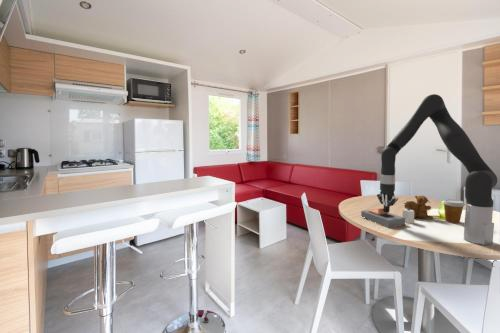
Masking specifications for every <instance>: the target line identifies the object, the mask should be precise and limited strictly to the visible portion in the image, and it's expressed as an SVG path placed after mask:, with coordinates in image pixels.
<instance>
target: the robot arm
mask: <svg viewBox="0 0 500 333" xmlns="http://www.w3.org/2000/svg"><path fill="white" fill-rule="evenodd" d="M428 118H429V119H430V120H431V121H432V123H433V124H434V126H435V127H436V129H437V132H438V134H439V136H440V138H441V140H442V142H443V144H444V146H445V148H447V150H448V151H449V153H451V154H452V155H453V156H454V157H455V158H456V159H457V160H458V161H459V162H460V163H462V165H463V166H464V168H465V169H466V171H467V172H468V174H467V176H466V179H465V183H464V184H465V186H464V188H465V189H464V197H465V213H464V227H463V240H465V241H467V242H469V243H473V244H478V245H482V246H487V245H490V244H493V242H494V241H493V240H494V230H495V223H494V222H493V213H494V199H493V196H492V193H493V188H495V187H496V186H497V183H498V177H497V176H498V175H496V174H495V172H494V171H493V170H492V169H491V168H490V167H489V165H488V164H487V163H486V162H485V160H484V159H483V158H482V156H481V155H480V153H479V151H478V150H477V148H476V147H475V145H474V144H473V142H472V141H471V139H470V136H468V134H467V133H466V131H464V129H463V127H461V126H460V125H459V124H458V123H457V122H456V120H454V119H453V117H452V116H451V115H450V113H449V110H448V109H447V107H446V104H445V101H444V99H443V97H442V96H441V95H439V94H429V95H428V96H425V97H424V98H423V100H422V101H421V103H420V104H419V105H418V107H417V109H416V111H415V112H414V114H412V116H411V117H410V119H409V120H408V121H407V122H406V124H404V126H403V127H402V128H401V129H400V130H399V131H398V132H397V133H396V135H395V136H394V137H393V139H392V140H391V141H390V142H389V143H388V144H387V145H386V146H385V147H384V148H383V150H382V151H381V154H380V156H381V157H380V158H381V160H380V161H381V168H380V179H379V190H380V192H379V193H378V194H376V196H377V198H378V201H379V202H380V204H381V205H382V206H383V208H384V212H386V213H388V212H389V213H390V210H391V209H390V207H391V206H394V205H395V204H396V203H397V202H398V200H399V198H398V197H396V196H395V192H396V158H397V157H396V156H397V155H398V154H399V152H400V151H401V150H403V148H404V147H405V146H406V145H407V144H408V143H409V142H410V141H411V140H412V139H413V138H414V136H415V135H416V134H417V132H418V131H419V129H420V128H421V126H422V125H423V123H424V122H425V121H427V119H428Z"/></svg>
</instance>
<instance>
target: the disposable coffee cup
mask: <svg viewBox="0 0 500 333" xmlns="http://www.w3.org/2000/svg"><path fill="white" fill-rule="evenodd" d="M442 204H443V206H444V207H443V209H444V210H443V211H444V219H445V222H447V223H451V224H460V222H461V218H462V213H463V209H464V206H466V203H465V202H464V201H463V200H459V199H450V198H449V199H448V198H447V199H444V200H443V201H442Z"/></svg>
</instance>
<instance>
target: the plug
mask: <svg viewBox="0 0 500 333" xmlns="http://www.w3.org/2000/svg"><path fill="white" fill-rule="evenodd" d="M402 217H404V218H405V224H414V222H415V218H414V210H410V208H407V209H406V208H404V209H402Z"/></svg>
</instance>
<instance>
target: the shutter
mask: <svg viewBox="0 0 500 333" xmlns="http://www.w3.org/2000/svg"><path fill="white" fill-rule="evenodd" d="M367 210H368V211H369V212H372V213H375V214H378V215H381V214H388V213H390V211H389V212H388V213H386V212H384V207H380V208H374V210H372V209H367Z"/></svg>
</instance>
